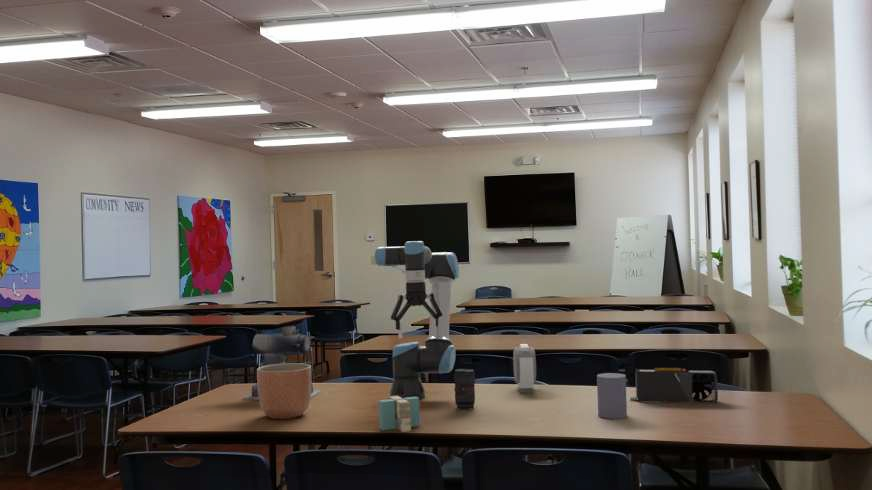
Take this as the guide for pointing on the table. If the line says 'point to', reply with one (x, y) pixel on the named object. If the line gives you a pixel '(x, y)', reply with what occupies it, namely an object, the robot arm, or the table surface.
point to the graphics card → (675, 385)
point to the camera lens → (464, 388)
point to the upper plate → (402, 413)
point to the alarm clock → (524, 367)
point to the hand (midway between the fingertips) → (417, 336)
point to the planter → (284, 389)
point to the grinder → (279, 351)
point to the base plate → (388, 413)
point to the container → (611, 395)
